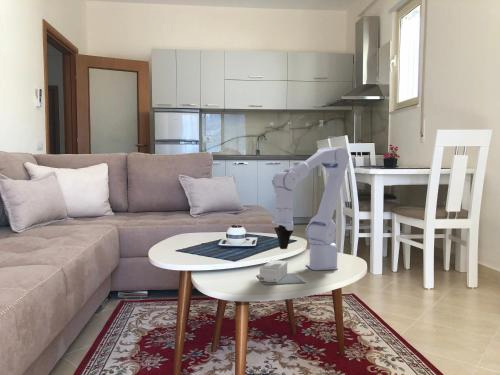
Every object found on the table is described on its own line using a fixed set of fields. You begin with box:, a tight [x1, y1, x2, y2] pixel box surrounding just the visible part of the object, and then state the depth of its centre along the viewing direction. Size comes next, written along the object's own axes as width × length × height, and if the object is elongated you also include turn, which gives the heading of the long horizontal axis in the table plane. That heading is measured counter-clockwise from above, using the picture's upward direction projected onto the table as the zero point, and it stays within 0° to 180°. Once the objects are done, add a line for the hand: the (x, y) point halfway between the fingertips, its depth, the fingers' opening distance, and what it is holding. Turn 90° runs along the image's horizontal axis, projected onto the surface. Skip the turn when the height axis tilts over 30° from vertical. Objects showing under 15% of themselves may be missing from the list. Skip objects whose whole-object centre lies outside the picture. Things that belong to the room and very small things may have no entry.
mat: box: [255, 272, 306, 286], centre depth 134 cm, size 13×11×1 cm
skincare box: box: [259, 259, 288, 283], centre depth 135 cm, size 6×4×12 cm
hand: (283, 248), depth 139 cm, fingers closed
